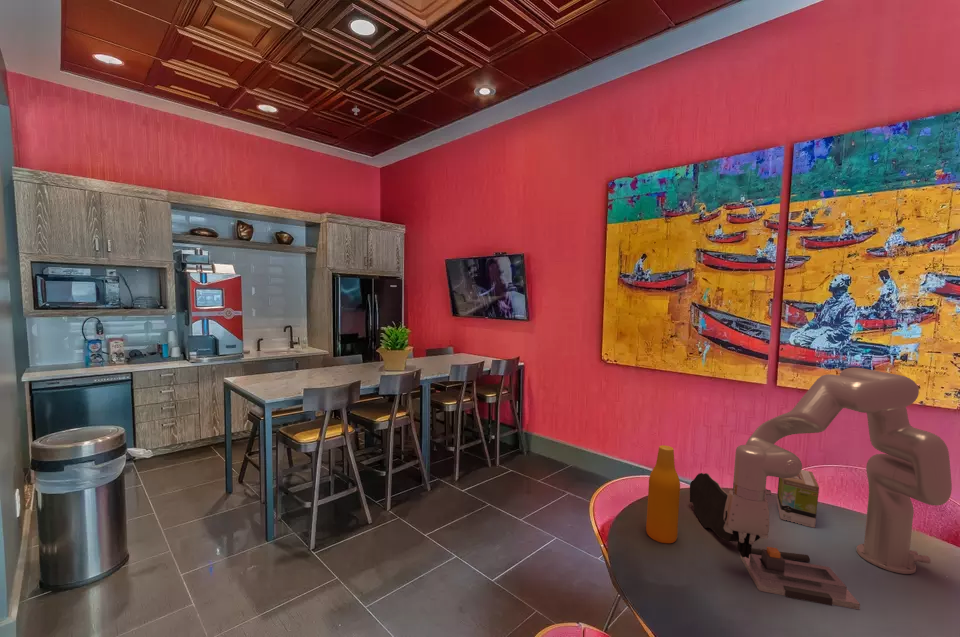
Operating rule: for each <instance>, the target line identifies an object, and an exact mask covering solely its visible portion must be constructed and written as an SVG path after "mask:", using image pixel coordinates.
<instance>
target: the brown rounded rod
mask: <svg viewBox="0 0 960 637" xmlns="http://www.w3.org/2000/svg"><path fill="white" fill-rule="evenodd" d="M779 552H780V553H781V556H782V557H783V559H785V560H791V561H797V562H805V563H807V562H808V563H810V561H811V559H810V555H808V554H802V553H795V552H785V551H779ZM751 554H756V555H761V556H762V548H761V549H760V548H751Z"/></svg>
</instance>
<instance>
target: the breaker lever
mask: <svg viewBox="0 0 960 637" xmlns="http://www.w3.org/2000/svg"><path fill="white" fill-rule="evenodd" d="M761 550H762V556H761V562H762V564H763V565H764V567H765V569H768V570H774V571H780V572H784V567H785V560H786V559H785V560H784V559H783V557H782V556H781V553H780V552H781V551H779V550H778V548H777V547H772V546H766V549H763V548H761Z"/></svg>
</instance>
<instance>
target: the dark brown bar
mask: <svg viewBox="0 0 960 637" xmlns="http://www.w3.org/2000/svg"><path fill="white" fill-rule="evenodd" d="M783 587H784V588H785V590H786V594H785V597H787V598H789V599H790V598H791V599H794V600H796V599H797V600H801V601H806V602H811V603H816V604H822V605H828V606H832V597H831V596H830V595H829V594H827V593H822V592H816V591H811V590H806V589H800V588H795V587H789V586H784V585H783Z"/></svg>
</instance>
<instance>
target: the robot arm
mask: <svg viewBox="0 0 960 637" xmlns="http://www.w3.org/2000/svg"><path fill="white" fill-rule="evenodd" d="M919 391H920V390H919V386H918V385H917V383H916V382H915V381H914V380H913V379H912V378H910V377H908V376H904V375H900V374H896V373H889V372H884V371H878V370H873V369H868V368H863V367H862V368H861V367H848V368H845V369H842V371H840V374H830V373H829V374H823V375H821V376H820V377H819V378H816V380H815V381H814V383H813V384H812V385H811V386H810V388H808V390H807V391H806V392H805V393H804V395H803V396H802V397H801V399H800V400H799V401H798V402H797V403H796V405H794V407H793V408H792V409H791V410H790V411H789V412H785V413H782V414H780V415H777V416H775V417H772V418H771V419H769V420H767V421H764V422H763V423H761V424H760V425H759V426H758V427H757V428H756V430H755V431H754V432H753V433H752V434H751V435H750V437H749V438H748V439H747V441H746V443H745V444H741V445H738V446H736V449H735V455H734V456H735V457H734V469H733V480H732V490H728V493H727V494H728V496H727V500H726V504H725V509H724V522H725V525H724V527H723V528H724V530H725V531H726V532H728V533H731V534H734V536H735V537H736V538H737V539H738V542H736V543H737V544H736V549H737V551H738V552H739V554H740V556H742V557H746V558H749V554H751V548H752V546H753V545H754V543H756V542H757V541H758V540H760V539H761V540H762V539H768V538H769V535H768V534H769V532H770V512H769V510H770V509H769V501H768V499H767V496H771V495H772V490H770V489H767V488H766V487H767V479H768V478H767V477H772V478H773V477H774V478H778V479H779V478H792V477H795V476H797V475H798V474H799V473H800V472H801V470H803V463H802V461H801V459H800V457H799V456H797V455H796V454H795V453H794V452H792V451H789V450H787V449H785V448H783V447H781V446H779V445H776V444H775V443H777V442H778V441H779V440H781V439H783V438H785V437H788V436H792V435H798V434H799V435H800V434H802V435H803V434H804V435H805V434H818V433H822V432H824V431H825V430H827V428H828V427H829V425H831V423H832V422H833V421H834V420H835V418H836V417H837V416H838V415H839V414H840V412H841V411H842V410H844V409H847V410H850V411H851V410H852V411H854V412H858V413H861V414H862V413H866V417H867V424H868V426H867V427H868V434H869V439H870V442H871V446H873V448H874V449H876V450H877V451H879V452H881V453H878V454H877V453H876V454H874V455H872V456H871V457H869V458H868V460H867V462H866V467H865V469H866V470H865V471H866V477H867V482H868V495H867V496H868V497H867V498H868V499H867V508H866V521H865V531H864V532H865V533H864V542H863V543H861V544H858V545H857V546H856V553H857V554H858V555H859V556H860V557H861V558H862V559H863V560H865V561H867V562H868V563H870V564H872V565H873V566H876V567H878V568H879V569H880V568H881V569H883V570H887V571H889V572H892V573H897V574H903V575H910V574H911V575H912V574H914V573H916V571H917V566H916V564H915V563H917V562H919V563H924V564H931V558H930V557H929V556H928V555H922V554H919V553H918V550H911V543H912V532H913V531H912V530H913V519H914V515H915V514H914V513H915V512H914V511H915V510H914V504H913V502H912V499H913V500H915V501H918V502H919V503H920V502H921V503H923V504H925V505H929V506H942V505H944V504H946V503H947V502H948V501H949V500H950V498H951V495H952V491H953V490H952V489H953V486H952V474H951V463H950V462H951V461H950V453H949V448H948V445H947V443H946V442H945V441H944V440H943V439H942V438H941V437H940V436H938V435H937V434H935V433H933V432H930V431H927V430H923V429H919V428H916V427H914V426H912V425H911V424H910V420H909V415H908V409H907V407H908V406H911V405H912V404H914V403H915V402H916V401H917V399H918V397H919V393H920V392H919ZM726 514H727V515H726ZM752 549H753V548H752Z"/></svg>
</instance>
